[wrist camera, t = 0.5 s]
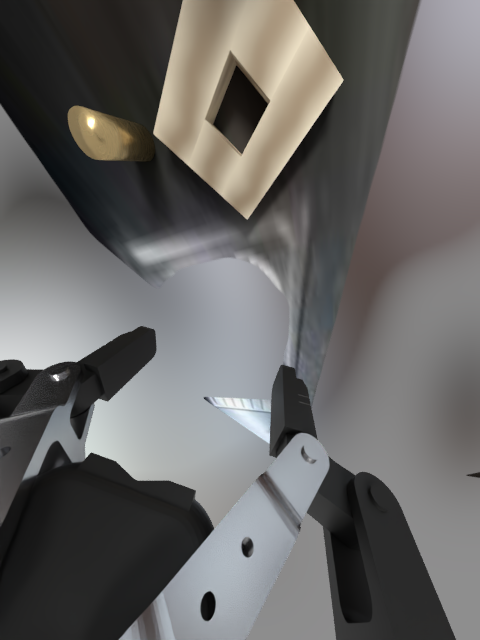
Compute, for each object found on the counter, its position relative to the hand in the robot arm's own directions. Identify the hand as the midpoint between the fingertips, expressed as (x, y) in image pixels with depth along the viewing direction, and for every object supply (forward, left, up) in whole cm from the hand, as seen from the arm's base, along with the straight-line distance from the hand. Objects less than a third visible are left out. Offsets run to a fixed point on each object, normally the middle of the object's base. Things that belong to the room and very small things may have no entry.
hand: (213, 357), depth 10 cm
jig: (-11, +9, -28) cm, 32 cm away
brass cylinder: (-22, -2, -28) cm, 36 cm away
